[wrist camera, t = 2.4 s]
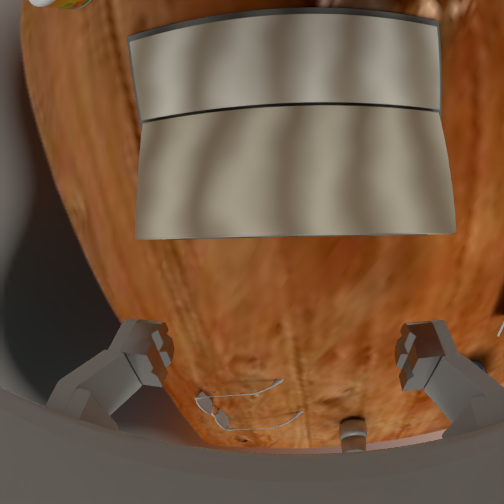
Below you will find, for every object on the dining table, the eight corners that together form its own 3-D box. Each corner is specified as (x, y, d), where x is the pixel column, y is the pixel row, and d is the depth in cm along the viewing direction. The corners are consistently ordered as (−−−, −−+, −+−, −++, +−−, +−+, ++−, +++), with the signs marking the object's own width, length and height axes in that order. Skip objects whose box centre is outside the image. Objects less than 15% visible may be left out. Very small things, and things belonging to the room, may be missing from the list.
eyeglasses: (196, 384, 58) (192, 400, 55) (282, 374, 53) (280, 392, 50) (230, 418, 66) (227, 433, 62) (305, 411, 60) (304, 427, 57)
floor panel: (434, 22, 21) (444, 19, 19) (424, 231, 34) (431, 241, 32) (131, 37, 26) (120, 36, 23) (168, 235, 39) (162, 246, 37)
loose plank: (433, 118, 26) (438, 112, 24) (449, 234, 25) (456, 232, 24) (149, 128, 30) (142, 123, 29) (142, 240, 30) (135, 238, 28)
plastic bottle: (356, 412, 58) (359, 496, 42) (371, 420, 60) (376, 498, 44) (332, 422, 61) (332, 502, 45) (349, 429, 63) (350, 504, 47)
